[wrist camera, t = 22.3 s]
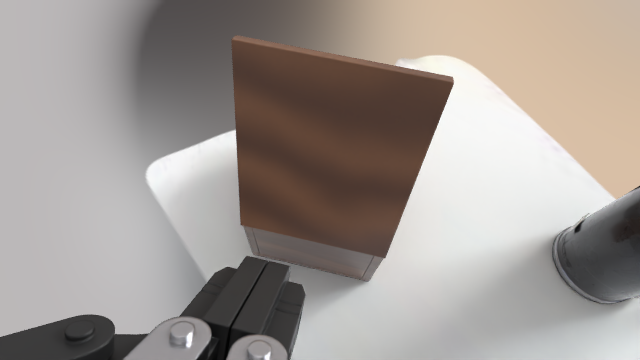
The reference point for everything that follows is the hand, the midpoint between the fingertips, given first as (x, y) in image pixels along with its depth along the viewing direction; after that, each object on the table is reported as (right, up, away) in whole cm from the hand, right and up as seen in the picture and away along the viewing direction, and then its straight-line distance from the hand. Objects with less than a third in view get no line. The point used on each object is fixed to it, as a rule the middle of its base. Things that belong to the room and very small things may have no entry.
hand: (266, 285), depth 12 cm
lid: (+2, +5, +16) cm, 17 cm away
